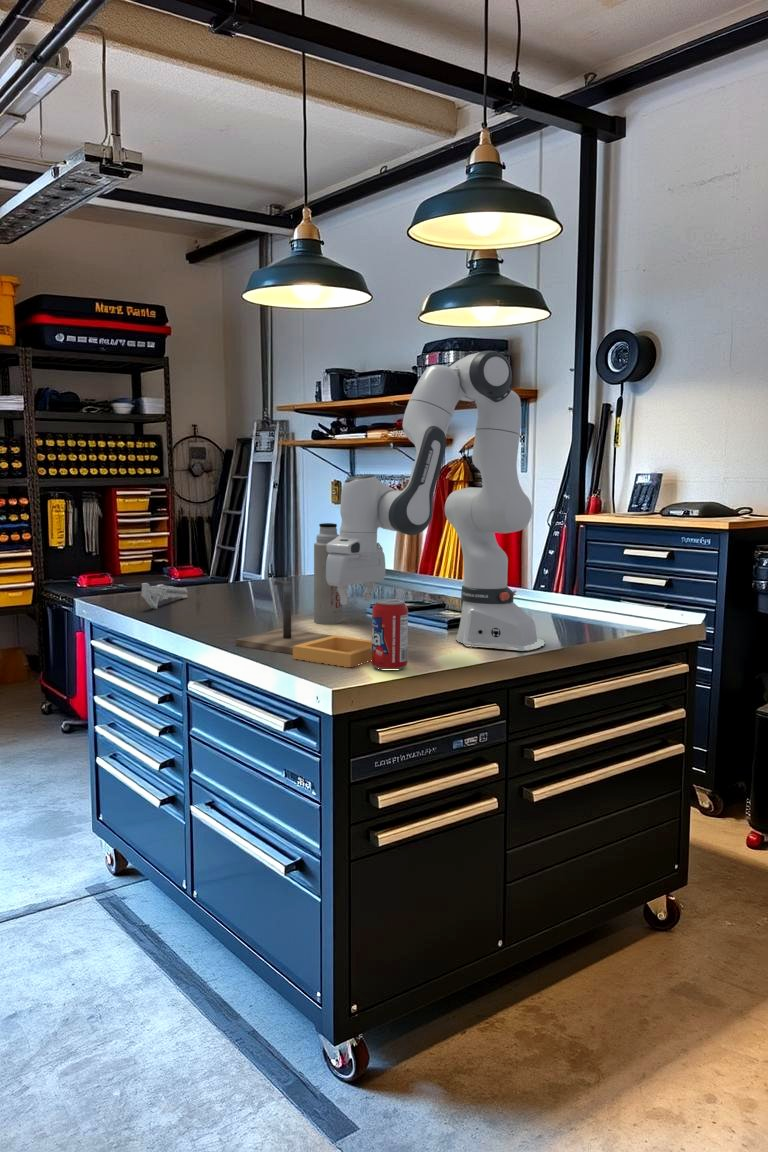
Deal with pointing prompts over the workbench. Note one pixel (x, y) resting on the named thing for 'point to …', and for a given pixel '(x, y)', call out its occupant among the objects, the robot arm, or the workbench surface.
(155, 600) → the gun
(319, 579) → the thermos bottle
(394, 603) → the soda can
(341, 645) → the loop
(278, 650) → the wooden peg stand
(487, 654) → the workbench surface
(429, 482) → the robot arm
